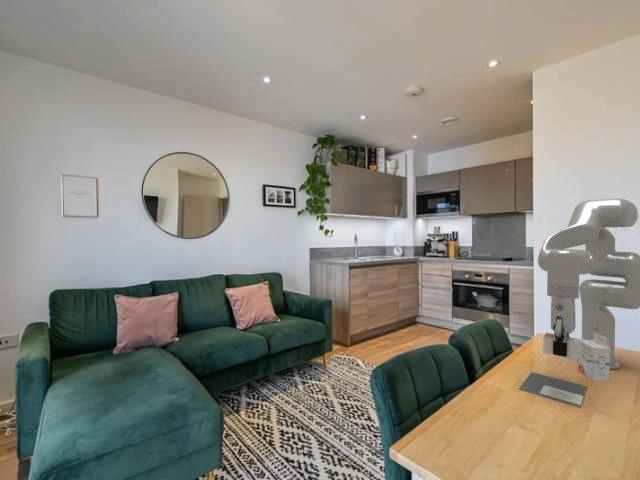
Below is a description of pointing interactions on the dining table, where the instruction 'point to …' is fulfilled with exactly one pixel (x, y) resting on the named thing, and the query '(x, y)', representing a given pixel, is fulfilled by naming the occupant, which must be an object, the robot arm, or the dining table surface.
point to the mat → (555, 389)
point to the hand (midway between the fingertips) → (561, 352)
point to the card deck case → (572, 346)
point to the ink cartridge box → (595, 358)
